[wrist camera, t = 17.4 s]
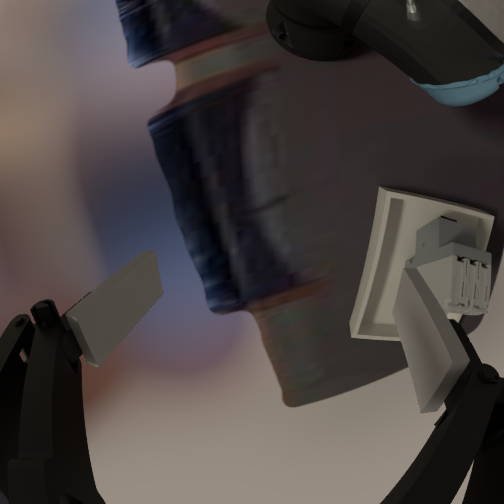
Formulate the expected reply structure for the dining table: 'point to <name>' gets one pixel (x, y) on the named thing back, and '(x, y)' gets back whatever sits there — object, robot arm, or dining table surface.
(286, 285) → the dining table surface
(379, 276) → the parts tray
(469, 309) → the circuit breaker
